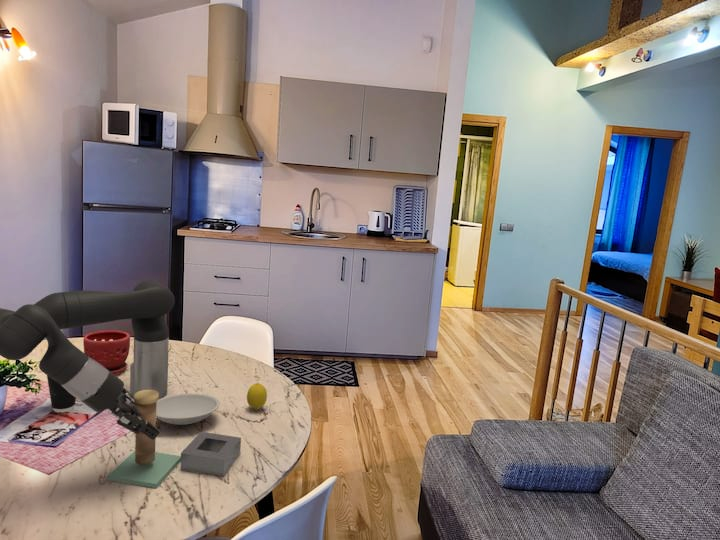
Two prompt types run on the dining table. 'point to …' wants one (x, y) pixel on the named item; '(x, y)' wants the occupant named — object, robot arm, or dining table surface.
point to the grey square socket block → (211, 454)
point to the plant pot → (108, 349)
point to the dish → (186, 408)
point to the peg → (147, 407)
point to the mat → (145, 470)
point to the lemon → (256, 396)
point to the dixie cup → (60, 397)
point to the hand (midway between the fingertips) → (155, 430)
